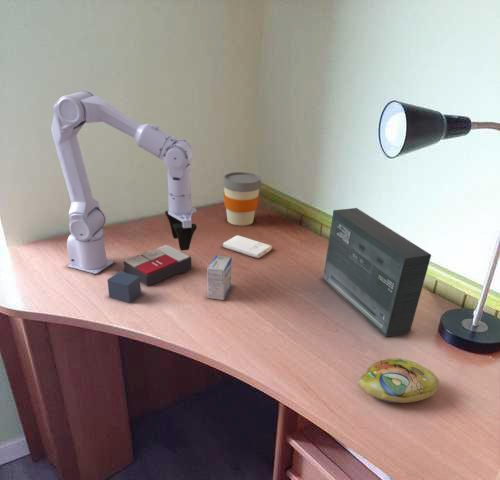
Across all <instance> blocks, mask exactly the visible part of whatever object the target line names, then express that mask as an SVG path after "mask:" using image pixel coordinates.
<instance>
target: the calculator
mask: <svg viewBox="0 0 500 480" xmlns="http://www.w3.org/2000/svg"><path fill="white" fill-rule="evenodd" d="M122 263H123V270H124V271H123V272H124V273H128V274H131V275H135V276H139V277H140V283H142V284H143V285H145V286H147V287H150V286H152V285H154V284H156V283H159V282H161V281H163V280H166V279H168V278H170V277H172V276H174V275H177V274H179V273H180V274H183V273H186V272H188V271H190V270H192V268H193V267H192V257H191V256H189V255H188V254H185V253H184V252H182V251H181V250H178V249H176V248H175V247H173V246H170V245H168V244H164V245H163V246H159V247H157V248H153V249H150V250H148V251H145V252H142V253H140V254H137V255H134V256H132V257H130V258H127V259H125V261H123V262H122Z"/></svg>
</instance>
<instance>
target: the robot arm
mask: <svg viewBox="0 0 500 480" xmlns="http://www.w3.org/2000/svg"><path fill="white" fill-rule="evenodd" d="M52 110H53V117H52V120H51V121H52V122H51V128H50V131H51V136H52V140H53V142H54V143H53V144H54V146H55V149H56V153H57V157H58V160H59V164H60V167H61V171H62V175H63V177H64V181H65V185H66V189H67V193H68V195H69V199H70V206H69V210H68V218H69V224H68V229H69V232H70V234H69V236H68V238H67V240H66V249H67V256H68V259H69V260H68V261H69V263H68V264H67V268H71V269H75V270H78V271H83V272H86V273H90V274H94V275H98V274H99V273H100V272H102V271H104V270H105V269H107V268H108V267H109V266H111V265H113V264H114V260H110V259H107V254H106V245H105V244H106V243H105V235H104V230H103V227H104V226H105V224H106V221H107V218H106V215H105V213H104V211H103V210H102V209H101V207H100V204H99V201H98V200H97V199H95V198H94V197H93V193H92V190H91V186H90V182H89V178H88V174H87V169H86V167H85V162H84V159H83V155H82V151H81V146H80V143H79V139H78V136H77V135H78V133H79V132H80V131H81V129H82V128H83V126H84V125H85V124H92V123H104V124H105V125H108V126H110V127H112V128H113V129H116V130H118V131H120V132H122V133H124V134H126V135H128V136H130V137H132V138H134V140H135V143H136V146H137V147H139V148H141V149H142V150H144V151H146V152H148V153H150V154H152V156H155V157H156V158H158V159H160V160H163V163H164V165H165V166H166V168H167V173H166V174H167V202H168V203H167V204H168V208H167V210H165V212H164V214H165V216H166V217H167V220H168V222H169V226H170V231H171V235H172V237H173V239H174V240H175V239H177V241H178V247H179V251H180V252H182V251H183V252H184V251H189V250H190V248H191V247H190V246H191V243H192V238H193V236H194V233H195V232H196V230H197V224H196V223H192V216H193V214H195V213H197V209H196V208H195V207H192V167H191V166H192V164H191V163H190V162H192V160H193V157H194V149H193V146H192V145H191V143H189V142H188V141H187V140H186V139H183V138H179V139H177V136H175V135H169V134H168V133H166V132H165V131H163V130H161V129H160V128H159V127H160V126H159V125H158V124H156V123H152V124H151V123H144V124H141V123H139V122H138V121H136V120H134V119H133V118H131V117H130V116H129V115H127V114H125V113H124V112H122V111H121V110H119V109H118V108H116V107H114V106H113V105H111V104H110V103H108V102H107V101H106V100H104V99H103V98H102V97H101V96H99V95H96V94H94V93H92V92H91V91H89V90H85V89H81V90H77V91H76V92H74V93H70V94H66V95H63V96H61V97H59V99H57V101H56V102H55V103H54V105H53V106H52Z"/></svg>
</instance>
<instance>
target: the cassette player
mask: <svg viewBox="0 0 500 480" xmlns="http://www.w3.org/2000/svg"><path fill="white" fill-rule="evenodd" d="M327 243H328V244H327V250H326V256H325V264H324V271H323V277H322V280H323V281H324V282H325V283H326V284H327V285H328V286H329V287H331V288H332V289H333V291H334V292H336V293H337V294H338V295H339V296H340V297H342V299H344V301H346V302H347V303H348V304H349V305H350V306H351V307H352V308H353V309H354V310H356V311H357V312H358V313H359V314H360V315H361V316H362V317H363V318H364V319H365V320H367V322H369V324H371V325H372V327H374V328H375V329H376V330H377V331H378V332H379V333H380V334H382V336H384V337H385V338H388V337H392V336H399V335H403V334H406V333H411V329H412V326H413V323H414V319H415V315H416V311H417V308H418V306H419V305H418V304H419V301H420V297H421V293H422V289H423V286H424V282H425V279H426V275H427V273H428V268H429V264H430V261H431V259H432V258H431V257H432V254H431V253H430V252H428V251H426V250H425V249H423V248H421V247H420V246H418V245H417V244H415V243H413V242H411V240H408V239H407V238H405V237H404V236H402V235H401V234H399V233H398V232H396V231H394V230H393V229H391V228H390V227H388V226H386V225H385V224H383V223H381V222H380V221H378V220H376V219H375V218H374V217H373V216H370V215H369V214H367V213H366V212H364V211H363V210H361V209H359V208H358V207H353V208H342V209H341V208H340V209H333V212H332V218H331V225H330V231H329V237H328V242H327Z"/></svg>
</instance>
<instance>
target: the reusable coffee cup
mask: <svg viewBox="0 0 500 480" xmlns="http://www.w3.org/2000/svg"><path fill="white" fill-rule="evenodd" d="M261 181H262V179H261V177H260V176H259V175H258V174H255V173H253V172H252V173H251V172H245V171H232V172H229V173H226V174H224V175H223V182H222V186H223V189H224V190H223V191H224V192H223V201H224V202H223V203H224V208H225V209H226V210H225V211H226V219H227V222H228V224H231V225H233V226H240V227H241V226H249V225H252V224H253V223H254V220H255V214H256V210H257V209H258V204H259V201H260V189H261V186H262V182H261Z"/></svg>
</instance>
